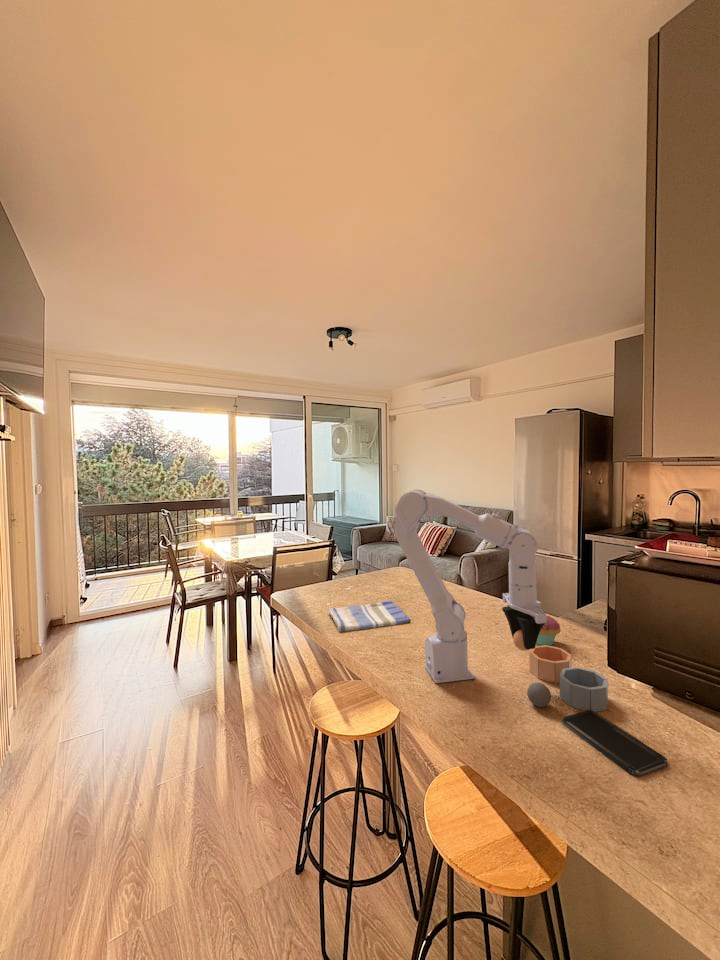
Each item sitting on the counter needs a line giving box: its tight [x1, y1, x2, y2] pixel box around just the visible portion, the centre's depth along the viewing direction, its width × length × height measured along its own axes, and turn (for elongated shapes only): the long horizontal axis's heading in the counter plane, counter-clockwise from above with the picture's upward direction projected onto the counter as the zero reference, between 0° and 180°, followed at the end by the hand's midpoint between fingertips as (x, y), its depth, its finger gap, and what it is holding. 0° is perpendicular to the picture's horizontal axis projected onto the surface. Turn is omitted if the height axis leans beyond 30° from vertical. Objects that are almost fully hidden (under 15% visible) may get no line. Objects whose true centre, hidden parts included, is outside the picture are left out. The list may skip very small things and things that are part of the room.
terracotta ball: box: [512, 630, 531, 652], centre depth 92 cm, size 4×4×4 cm
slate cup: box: [559, 666, 609, 713], centre depth 85 cm, size 8×8×4 cm
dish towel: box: [327, 600, 412, 633], centre depth 133 cm, size 17×24×3 cm
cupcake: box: [536, 615, 561, 646], centre depth 111 cm, size 9×8×12 cm
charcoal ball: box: [527, 682, 552, 708], centre depth 83 cm, size 4×4×4 cm
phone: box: [561, 710, 668, 778], centre depth 72 cm, size 8×1×15 cm
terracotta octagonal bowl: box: [528, 645, 573, 684], centre depth 95 cm, size 8×8×4 cm
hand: (523, 643), depth 92 cm, fingers closed on terracotta ball, 4 cm apart
